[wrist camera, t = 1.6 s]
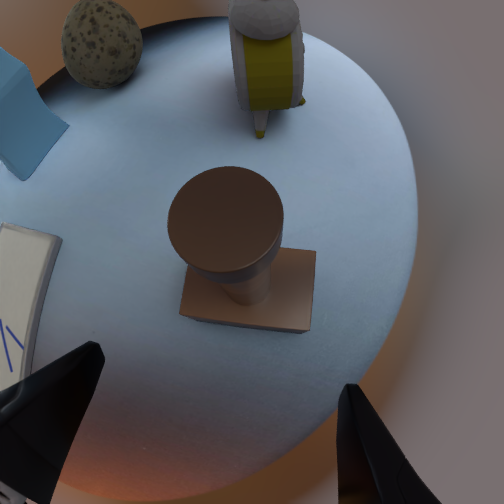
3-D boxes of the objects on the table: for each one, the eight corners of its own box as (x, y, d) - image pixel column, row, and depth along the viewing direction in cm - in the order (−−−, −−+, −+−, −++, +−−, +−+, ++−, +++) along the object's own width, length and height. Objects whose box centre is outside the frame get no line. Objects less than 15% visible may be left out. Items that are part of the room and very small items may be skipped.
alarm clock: (240, 77, 30) (225, -33, 16) (297, 73, 30) (300, -35, 16) (244, 147, 26) (222, 4, 12) (315, 143, 26) (335, 2, 12)
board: (27, 419, 19) (20, 420, 18) (-26, 371, 20) (-31, 371, 19) (62, 239, 25) (57, 235, 24) (7, 224, 26) (2, 221, 25)
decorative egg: (165, 73, 32) (133, -19, 18) (95, 117, 30) (43, 32, 16) (138, 51, 35) (110, -21, 21) (80, 88, 33) (40, 19, 19)
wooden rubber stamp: (302, 333, 21) (353, 311, 8) (196, 320, 22) (92, 277, 8) (307, 269, 22) (353, 160, 9) (206, 258, 23) (133, 149, 10)
